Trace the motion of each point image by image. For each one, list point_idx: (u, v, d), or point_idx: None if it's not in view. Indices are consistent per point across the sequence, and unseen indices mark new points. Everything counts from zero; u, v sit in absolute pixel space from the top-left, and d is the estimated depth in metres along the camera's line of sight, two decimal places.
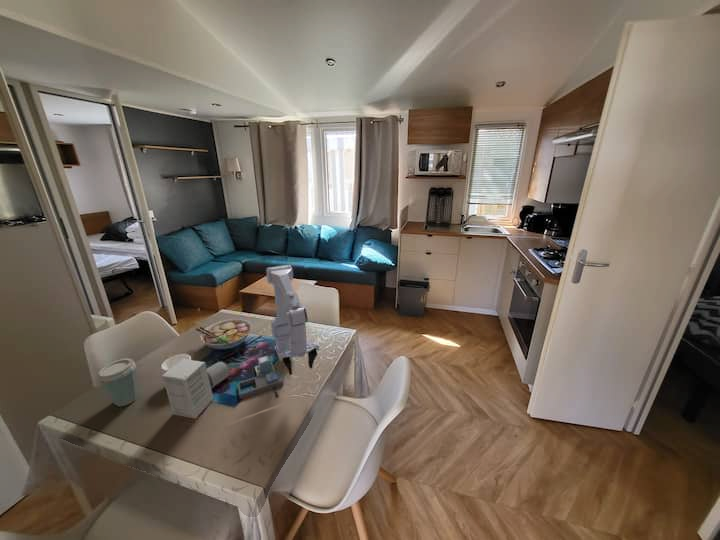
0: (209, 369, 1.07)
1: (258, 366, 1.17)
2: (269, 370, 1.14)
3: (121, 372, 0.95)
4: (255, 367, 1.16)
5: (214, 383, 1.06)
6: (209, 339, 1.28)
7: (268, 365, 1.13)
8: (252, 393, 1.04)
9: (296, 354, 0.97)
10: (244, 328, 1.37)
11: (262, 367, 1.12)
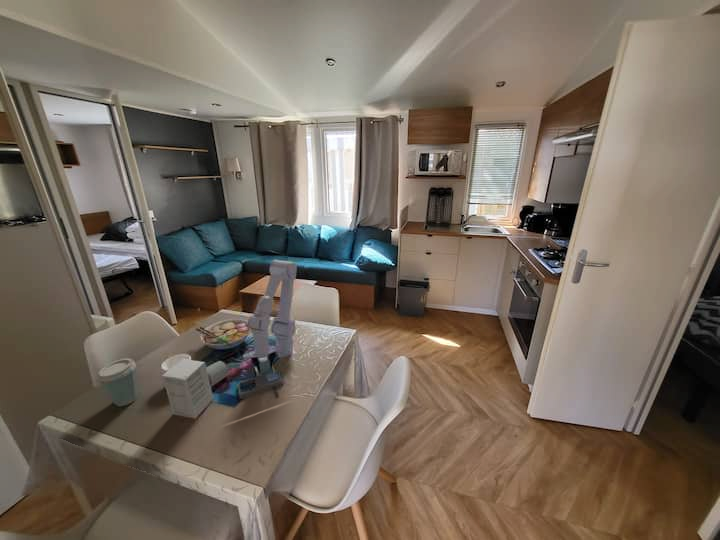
0: (208, 368, 1.07)
1: None
2: (269, 370, 1.14)
3: (121, 372, 0.95)
4: (255, 367, 1.16)
5: (213, 382, 1.06)
6: (209, 339, 1.28)
7: (268, 365, 1.13)
8: (252, 393, 1.04)
9: (259, 355, 1.09)
10: (244, 328, 1.37)
11: (262, 367, 1.12)
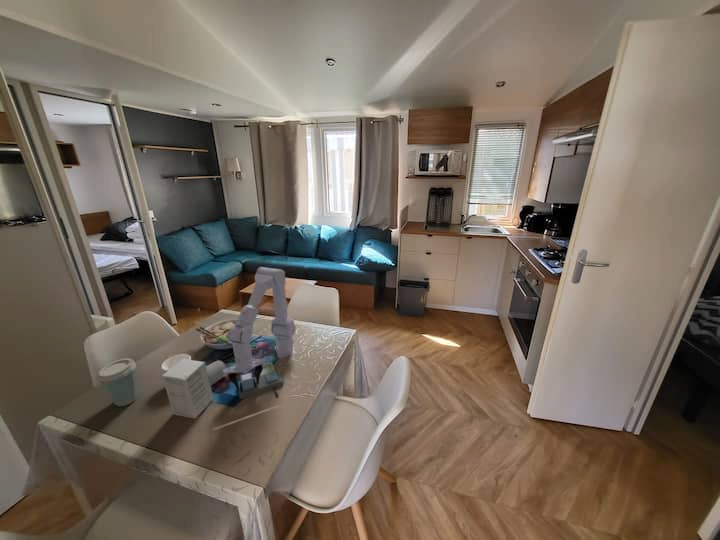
0: (207, 368, 1.07)
1: None
2: (253, 388, 1.05)
3: (121, 372, 0.95)
4: None
5: (211, 382, 1.06)
6: (209, 339, 1.28)
7: (251, 383, 1.04)
8: (252, 393, 1.04)
9: (240, 370, 1.00)
10: None
11: (245, 386, 1.03)
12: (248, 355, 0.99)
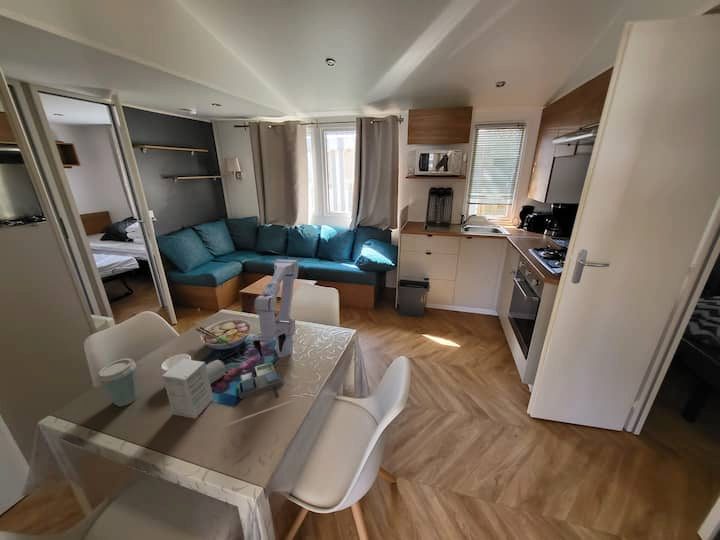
0: None
1: (258, 366, 1.17)
2: (253, 388, 1.05)
3: (121, 372, 0.95)
4: (255, 367, 1.16)
5: (210, 381, 1.07)
6: (209, 339, 1.28)
7: (251, 383, 1.04)
8: (252, 393, 1.04)
9: (265, 337, 1.07)
10: (244, 328, 1.37)
11: (245, 386, 1.03)
12: (273, 323, 1.07)
